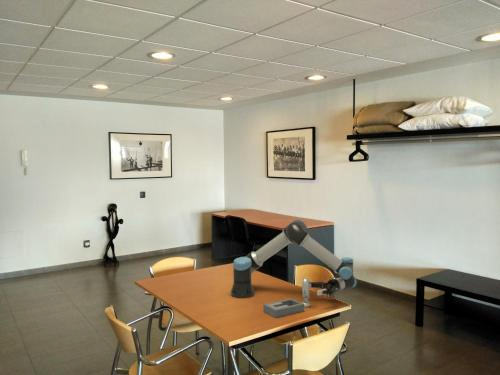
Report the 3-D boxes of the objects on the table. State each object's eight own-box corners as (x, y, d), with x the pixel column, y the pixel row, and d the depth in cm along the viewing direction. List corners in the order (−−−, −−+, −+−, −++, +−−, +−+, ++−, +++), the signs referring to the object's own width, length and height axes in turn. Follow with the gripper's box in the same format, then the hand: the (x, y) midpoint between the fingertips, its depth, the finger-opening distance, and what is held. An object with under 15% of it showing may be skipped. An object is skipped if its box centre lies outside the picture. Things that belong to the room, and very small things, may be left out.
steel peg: (301, 304, 240) (301, 278, 239) (310, 304, 239) (310, 278, 239) (301, 307, 235) (301, 280, 234) (310, 307, 234) (310, 280, 234)
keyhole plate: (291, 305, 239) (291, 298, 239) (304, 310, 229) (304, 304, 228) (263, 311, 228) (263, 304, 228) (275, 317, 218) (275, 310, 218)
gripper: (350, 295, 239) (324, 302, 227) (322, 286, 260) (296, 291, 248) (350, 283, 238) (324, 289, 227) (322, 274, 259) (296, 279, 248)
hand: (309, 290), depth 237 cm, fingers open, 13 cm apart
